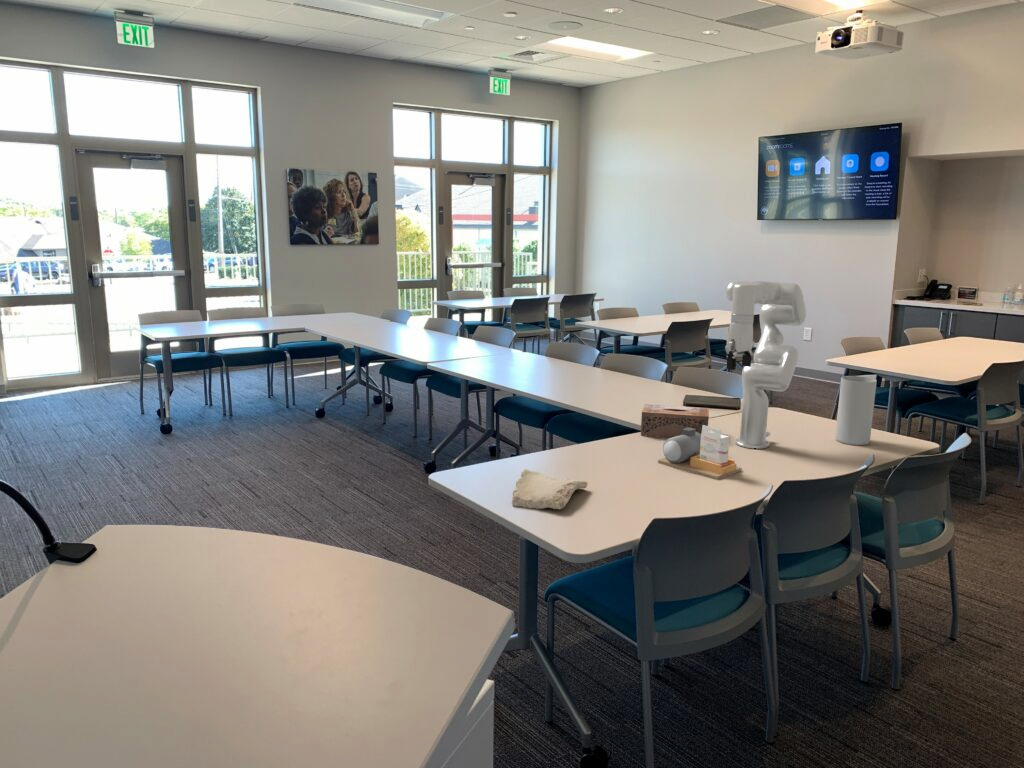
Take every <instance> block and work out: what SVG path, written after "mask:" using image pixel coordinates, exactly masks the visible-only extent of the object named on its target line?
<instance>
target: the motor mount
mask: <svg viewBox="0 0 1024 768" xmlns="http://www.w3.org/2000/svg"><path fill="white" fill-rule="evenodd" d="M700 444H701V434H700V433H698V432H696V429H694V428H689V427H688V428H685V429H682V435H679V436H676V437H672V438H667V439H665V441H664V443H663V445H662V451H663V455H664V458H660V459H657V463H658V464H661V465H664V466H667V465H668V467H672V468H674V467H675V469H678V468H679V469H678V470H681V469H682V470H681V471H686V472H688V471H689V472H688V473H692V472H693V473H692V474H695V473H696V475H699V474H700V475H699V476H702V475H703V476H702V477H706V476H707V477H706V478H709V477H710V478H709V479H713V478H714V479H713V480H716V479H718V480H720V479H723V478H725V476H726V477H728V476H731V475H734V474H736V473H739V472H742V471H743V469H742V467H741V466H738V465H737V463H735V461H736V460H733V459H730V458H728V464H727V466H726V467H723V468H722V465H720V464H716V463H713V462H709V461H705V460H701V459H700ZM741 470H742V471H741ZM738 471H739V472H738ZM733 473H734V474H733ZM730 474H731V475H730ZM722 477H723V478H722ZM719 478H720V479H719Z"/></svg>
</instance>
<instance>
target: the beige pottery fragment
mask: <svg viewBox="0 0 1024 768" xmlns="http://www.w3.org/2000/svg"><path fill="white" fill-rule="evenodd" d="M520 474H521V475H520V478H518V479H517V480H516V482H515V489H513V491H512V499H511V500H512V501H511V505H512V506H513V505H514V506H513V507H518V506H523V507H522V508H524V507H529V508H530V509H532V508H536V509H535V510H537V509H540V510H544V509H548V508H550V509H553V510H555V509H556V510H561V509H563V508H565V507H566V505H567V503H568V502H569V501H570V499H571V497H572V495H573V493H575V491H577V490H580V489H582V490H583V489H586V488H587V487H588V482H587V481H586V480H579V479H564V478H557V477H552V476H549V475H546V474H543V473H541V472H539V471H535V470H529V469H523V470H522V471H521V473H520ZM529 508H528V509H529Z"/></svg>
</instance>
